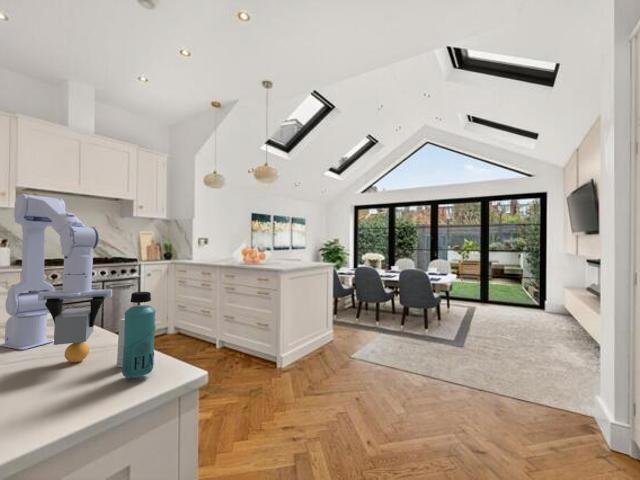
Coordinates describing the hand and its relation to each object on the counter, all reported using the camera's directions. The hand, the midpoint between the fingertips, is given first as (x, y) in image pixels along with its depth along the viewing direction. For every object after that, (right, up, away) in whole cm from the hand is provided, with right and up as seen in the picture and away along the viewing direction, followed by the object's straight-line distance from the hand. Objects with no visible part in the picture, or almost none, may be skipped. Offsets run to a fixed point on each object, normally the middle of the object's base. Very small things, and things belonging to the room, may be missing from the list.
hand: (75, 327), depth 76 cm
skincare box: (+14, -10, +2) cm, 17 cm away
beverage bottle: (+20, -10, -6) cm, 23 cm away
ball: (-1, -7, +2) cm, 7 cm away
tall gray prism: (0, -3, 0) cm, 2 cm away
